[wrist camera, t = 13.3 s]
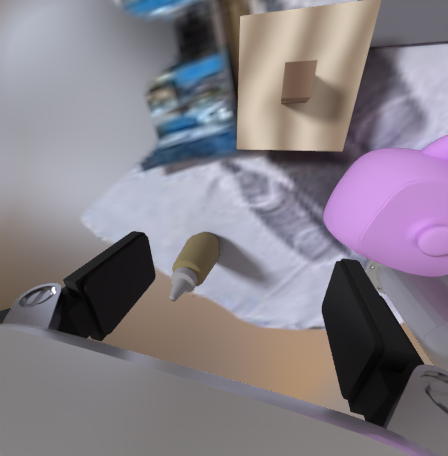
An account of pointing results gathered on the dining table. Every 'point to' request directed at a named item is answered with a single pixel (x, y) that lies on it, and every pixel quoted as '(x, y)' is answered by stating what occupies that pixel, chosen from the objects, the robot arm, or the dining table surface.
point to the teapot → (395, 208)
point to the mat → (410, 23)
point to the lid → (302, 75)
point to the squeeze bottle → (194, 263)
